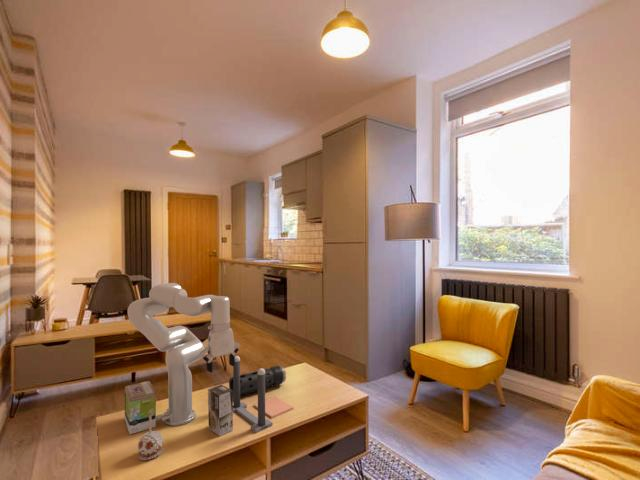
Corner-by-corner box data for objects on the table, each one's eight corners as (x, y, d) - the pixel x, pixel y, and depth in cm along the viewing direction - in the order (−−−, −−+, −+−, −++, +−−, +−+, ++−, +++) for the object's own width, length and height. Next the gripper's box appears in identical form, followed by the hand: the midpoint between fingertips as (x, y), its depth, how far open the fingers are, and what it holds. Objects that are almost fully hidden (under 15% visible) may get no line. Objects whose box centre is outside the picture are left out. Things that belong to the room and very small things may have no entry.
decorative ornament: (133, 460, 116) (132, 417, 116) (147, 447, 124) (147, 406, 124) (153, 462, 115) (152, 419, 115) (166, 449, 123) (166, 408, 123)
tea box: (156, 426, 138) (156, 391, 138) (129, 435, 132) (129, 398, 132) (149, 412, 150) (149, 379, 150) (124, 419, 144) (123, 385, 144)
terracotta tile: (271, 418, 143) (271, 416, 143) (253, 406, 154) (253, 404, 154) (293, 408, 151) (293, 407, 152) (274, 397, 163) (274, 396, 163)
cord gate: (255, 433, 132) (255, 372, 133) (226, 410, 151) (226, 357, 151) (272, 425, 138) (272, 367, 138) (242, 404, 156) (242, 353, 156)
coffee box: (233, 430, 135) (233, 390, 135) (219, 436, 130) (218, 395, 130) (221, 421, 141) (221, 383, 141) (207, 428, 136) (207, 388, 136)
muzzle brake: (228, 394, 167) (228, 374, 167) (278, 381, 183) (278, 362, 183) (235, 402, 159) (235, 380, 159) (286, 387, 175) (286, 367, 175)
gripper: (204, 332, 128) (204, 376, 128) (243, 324, 140) (244, 365, 139) (196, 329, 133) (196, 371, 133) (234, 321, 145) (235, 360, 145)
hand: (221, 368), depth 136 cm, fingers open, 9 cm apart
